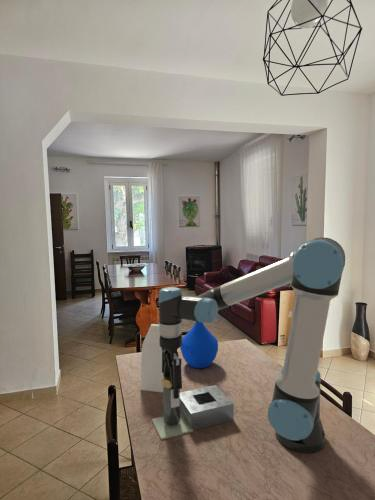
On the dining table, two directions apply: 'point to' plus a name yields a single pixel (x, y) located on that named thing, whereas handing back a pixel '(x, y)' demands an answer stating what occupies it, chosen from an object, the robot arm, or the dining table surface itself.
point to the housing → (205, 407)
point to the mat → (171, 427)
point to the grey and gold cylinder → (169, 404)
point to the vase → (199, 346)
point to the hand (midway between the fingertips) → (171, 400)
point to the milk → (152, 361)
